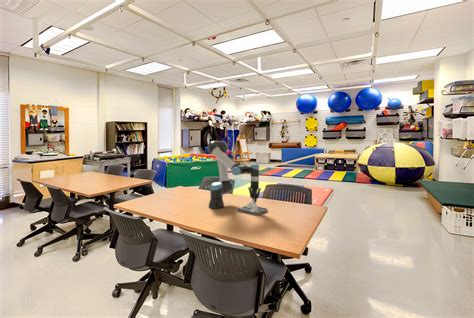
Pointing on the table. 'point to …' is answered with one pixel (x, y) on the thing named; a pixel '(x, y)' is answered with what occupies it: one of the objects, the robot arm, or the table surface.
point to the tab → (254, 208)
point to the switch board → (248, 210)
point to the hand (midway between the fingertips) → (254, 205)
